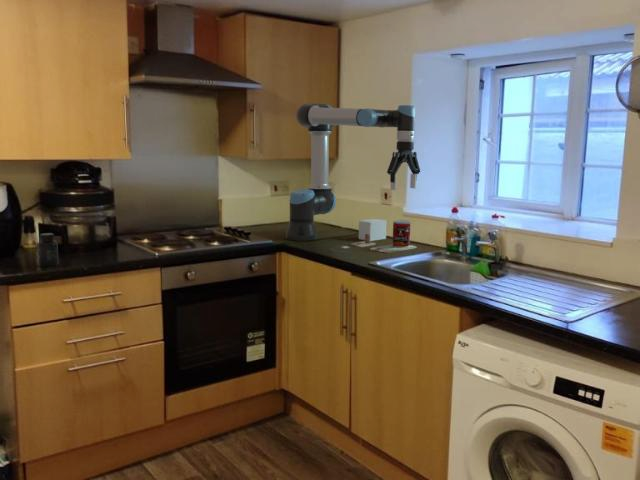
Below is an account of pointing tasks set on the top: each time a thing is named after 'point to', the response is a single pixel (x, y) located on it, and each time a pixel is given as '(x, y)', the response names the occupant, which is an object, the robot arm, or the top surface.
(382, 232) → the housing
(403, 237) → the canned food
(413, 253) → the top surface
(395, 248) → the board
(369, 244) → the plate
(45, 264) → the supplement bottle
